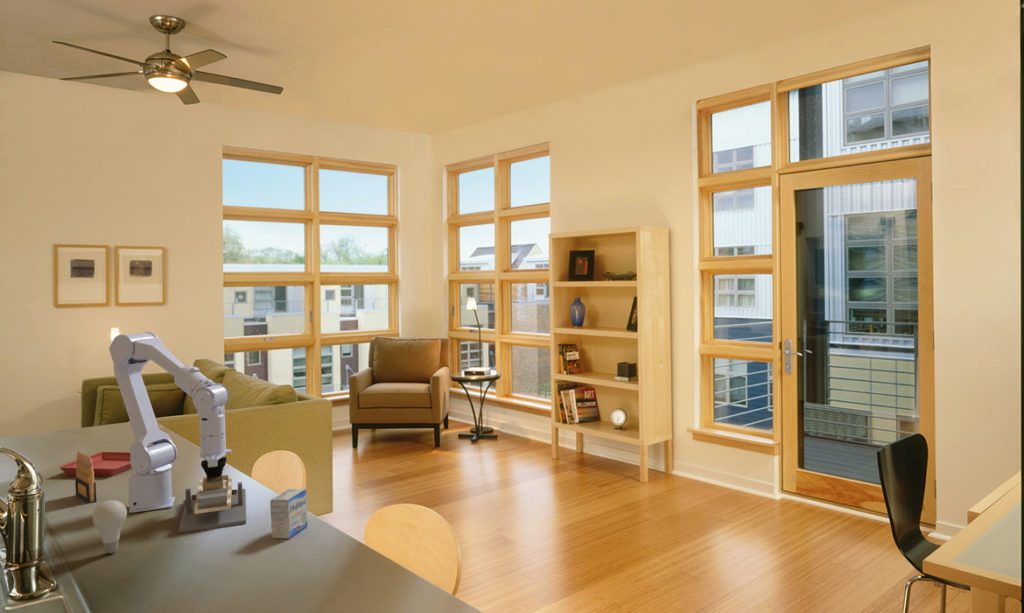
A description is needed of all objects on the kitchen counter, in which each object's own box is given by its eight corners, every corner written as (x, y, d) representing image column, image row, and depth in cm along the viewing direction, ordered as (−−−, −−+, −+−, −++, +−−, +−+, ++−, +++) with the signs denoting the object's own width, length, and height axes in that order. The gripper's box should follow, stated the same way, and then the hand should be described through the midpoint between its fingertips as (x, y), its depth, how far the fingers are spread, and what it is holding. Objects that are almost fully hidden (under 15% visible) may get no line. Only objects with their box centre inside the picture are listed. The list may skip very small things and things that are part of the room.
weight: (223, 497, 156) (222, 481, 156) (203, 500, 154) (202, 484, 154) (223, 491, 160) (223, 475, 160) (204, 493, 158) (203, 477, 158)
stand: (246, 523, 151) (245, 498, 150) (178, 533, 145) (177, 507, 145) (245, 491, 175) (244, 469, 174) (187, 499, 169) (186, 476, 169)
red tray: (154, 462, 208) (154, 452, 208) (114, 479, 190) (114, 467, 190) (102, 461, 210) (101, 451, 210) (57, 478, 192) (57, 467, 192)
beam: (236, 509, 151) (235, 494, 151) (188, 515, 147) (188, 500, 147) (237, 481, 172) (236, 468, 172) (195, 486, 168) (194, 473, 168)
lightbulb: (92, 561, 131) (90, 507, 131) (95, 551, 136) (93, 499, 136) (127, 555, 134) (125, 502, 133) (129, 545, 139) (127, 494, 139)
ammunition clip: (96, 501, 169) (94, 456, 168) (88, 503, 167) (86, 457, 167) (83, 493, 176) (81, 449, 175) (75, 495, 174) (73, 451, 174)
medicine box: (289, 539, 141) (288, 500, 140) (271, 538, 141) (269, 499, 141) (308, 526, 148) (306, 488, 148) (290, 525, 149) (289, 487, 149)
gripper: (230, 438, 155) (232, 494, 155) (230, 426, 168) (232, 478, 169) (197, 442, 152) (199, 499, 153) (200, 429, 165) (202, 482, 166)
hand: (215, 488), depth 160 cm, fingers closed
